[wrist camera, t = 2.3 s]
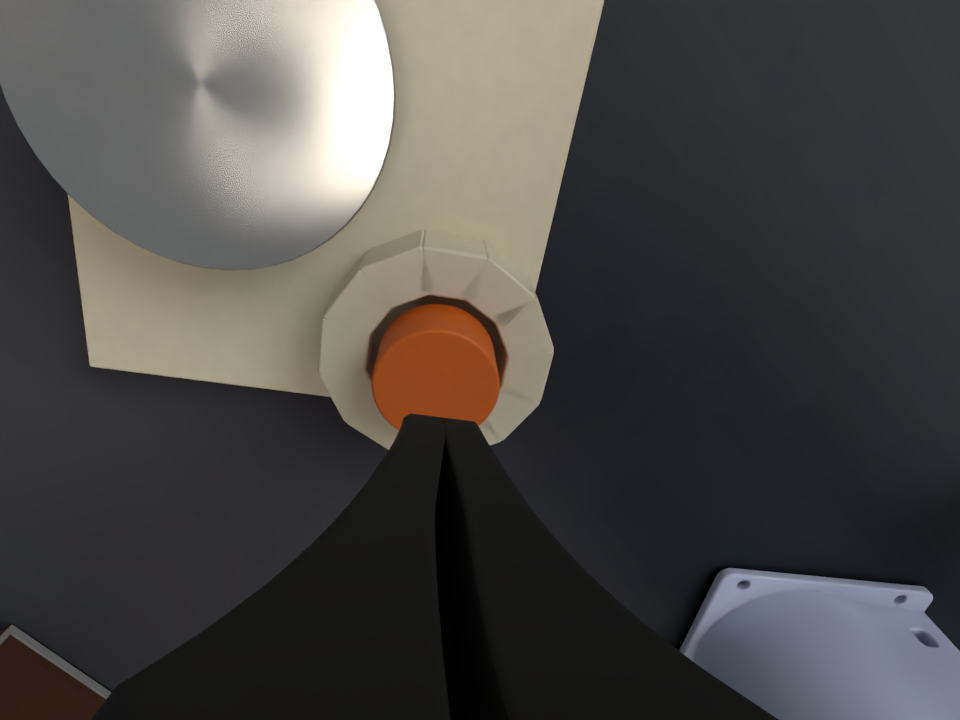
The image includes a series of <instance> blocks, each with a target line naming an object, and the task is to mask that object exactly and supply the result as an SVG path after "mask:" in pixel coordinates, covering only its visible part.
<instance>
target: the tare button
mask: <svg viewBox="0 0 960 720" xmlns="http://www.w3.org/2000/svg"><path fill="white" fill-rule="evenodd" d="M499 389H500V380H499V374H498V369H497V363H496V358H495V353H494V348H493V344H492V341H491V338H490V336H489V334H488V332H487V330H486V329H485V327H484V326H483V325H482V324H481V323H480V321H479V320H477V319H476V318H475V317H474V316H473V315H471V314H470V313H468V312H466V311H464V310H462V309H460V308H457V307H454V306H450V305H445V304H427V305H422V306H418V307H415V308H412V309H410V310H408V311H406V312H404V313H403V314H401V315H400V316H398V317H397V318H396V319H395V320H394V321H393V322H392V323H391V324H390V325H389V327H388V328H387V329H386V331H385V333H384V335H383V337H382V340H381V342H380V346H379V350H378V354H377V358H376V362H375V367H374V371H373V376H372V394H373V397H374V401H375V403H376V406H377V408H378V410H379V411H380V413H381V414H382V416H383V417H384V418H385V419H386V421H387V422H389V423H390V424H391V425H392V426H393V427H394V428H396V429H397V430H398V431H399V430H400V428H401V425H402V422H403V418H404V417H405V416H407V415H409V414H410V413H411V414H419V415H427V416H435V417H443V418H451V419H459V420H467V421H475V422H476V423H477V425H478V426H480V425H481V424H482V423H483V422H484V421H485V420H486V419H487V417H488V416H489V415H490V413H491V412H492V410H493V409H494V406H495V404H496V402H497V399H498V395H499Z"/></svg>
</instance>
